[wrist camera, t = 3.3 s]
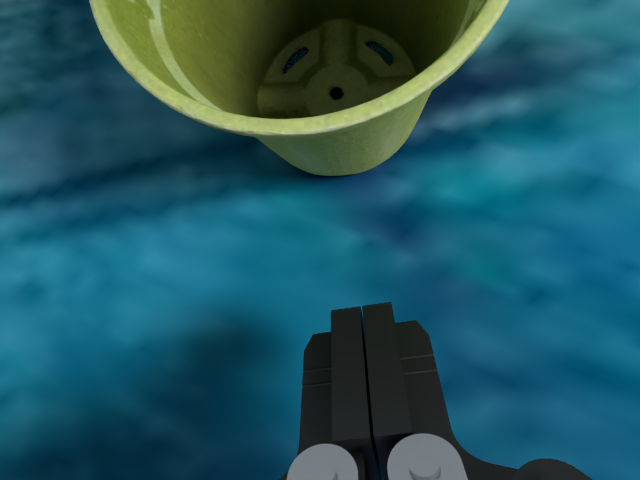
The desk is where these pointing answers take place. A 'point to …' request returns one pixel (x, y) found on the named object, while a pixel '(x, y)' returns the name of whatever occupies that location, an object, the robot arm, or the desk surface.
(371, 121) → the plant pot
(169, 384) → the desk surface
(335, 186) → the desk surface
